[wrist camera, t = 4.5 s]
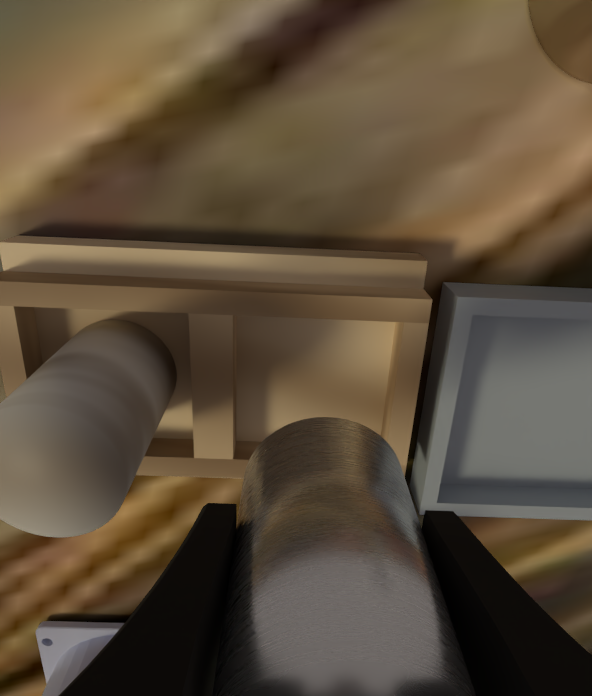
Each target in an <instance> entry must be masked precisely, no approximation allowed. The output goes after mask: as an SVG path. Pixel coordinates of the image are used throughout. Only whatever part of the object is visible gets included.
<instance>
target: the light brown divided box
mask: <svg viewBox="0 0 592 696" xmlns="http://www.w3.org/2000/svg"><path fill="white" fill-rule="evenodd" d="M0 255H1V260H2V266H3V271H2V272H0V368H1V373H2V378H3V383H4V388H5V393H6V399H5V400H4V401H2V402H1V403H0V519H1V520H3V521H4V522H6V523H7V524H9V525H11V526H13V527H15V528H18V529H20V530H23V531H26V532H29V533H32V534H36V535H41V536H47V537H72V536H78V535H82V534H86V533H89V532H91V531H94V530H96V529H98V528H100V527H102V526H103V525H104V524H106V523H107V522H108V521H110V520H111V519H112V518H113V517H114V516H115V514H116V513H117V512H118V510H119V509H120V507H121V505H122V503H123V501H124V499H125V497H126V494H127V492H128V490H129V488H130V486H131V484H132V481H133V479H134V477H135V475H152V476H181V477H211V478H241V479H244V474H245V469H246V466H247V464H248V461H249V459H250V457H251V455H252V454H253V452H254V451H255V449H256V448H257V447H258V446H259V444H260V443H261V442H262V441H263V440H264V439H265V438H267V437H268V436H269V435H271V434H272V433H273V432H275V431H276V430H278V429H280V428H282V427H284V426H286V425H288V424H291V423H293V422H296V421H300V420H303V419H309V418H315V417H333V418H341V419H347V420H350V421H354V422H357V423H359V424H362V425H364V426H366V427H368V428H370V429H371V430H373V431H375V432H376V433H378V434H379V435H380V436H381V437H382V438H384V439H385V440H386V442H387V443H388V444H389V445H390V446H391V447H392V449H393V450H394V452H395V453H396V455H397V458H398V460H399V462H400V465H401V468H402V471H403V474H404V477H405V472H406V465H407V459H408V453H409V446H410V440H411V434H412V427H413V421H414V414H415V408H416V402H417V395H418V389H419V383H420V376H421V370H422V364H423V357H424V351H425V345H426V338H427V332H428V326H429V319H430V313H431V306H432V300H433V299H432V298H431V297H430V296H429V295H428V294H427V292H426V291H425V290H424V282H425V275H426V269H427V262H428V261H427V260H426V259H425V258H424V257H423V256H422V255H420V254H419V253H401V252H378V251H356V250H333V249H311V248H288V247H266V246H243V245H221V244H199V243H176V242H154V241H131V240H109V239H86V238H64V237H41V236H19V235H17V236H14V237H11V238H8V239H6V240H3V241H0Z"/></svg>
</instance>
